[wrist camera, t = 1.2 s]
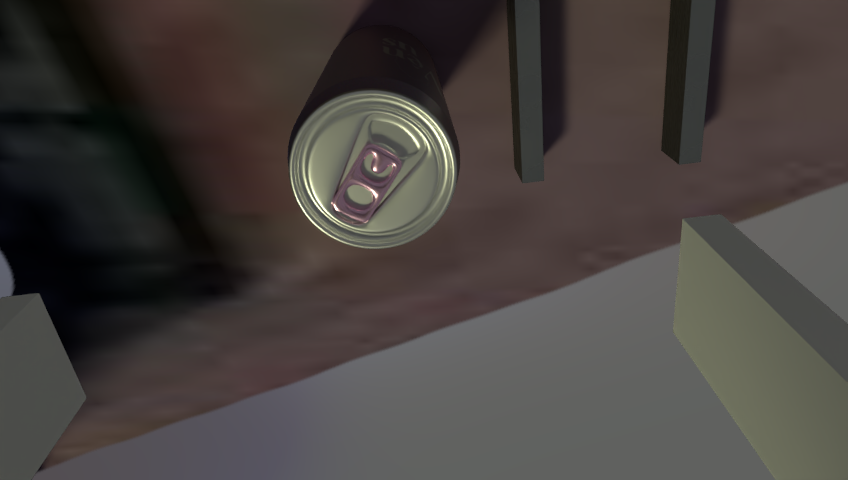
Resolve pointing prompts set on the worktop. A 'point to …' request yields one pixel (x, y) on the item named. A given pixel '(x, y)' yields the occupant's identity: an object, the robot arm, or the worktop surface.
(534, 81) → the lane
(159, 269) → the worktop surface
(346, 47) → the beverage can
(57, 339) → the robot arm
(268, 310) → the worktop surface
